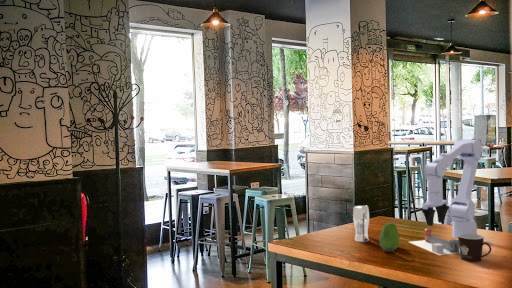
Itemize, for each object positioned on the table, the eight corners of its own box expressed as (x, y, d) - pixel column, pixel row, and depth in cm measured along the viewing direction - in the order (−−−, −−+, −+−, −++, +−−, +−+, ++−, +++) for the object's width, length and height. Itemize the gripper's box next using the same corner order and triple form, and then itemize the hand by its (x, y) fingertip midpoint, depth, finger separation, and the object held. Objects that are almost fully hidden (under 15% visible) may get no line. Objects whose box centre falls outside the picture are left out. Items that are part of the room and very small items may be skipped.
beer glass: (369, 242, 213) (369, 208, 213) (353, 242, 215) (352, 208, 214) (369, 238, 220) (368, 205, 220) (353, 238, 222) (353, 205, 221)
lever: (461, 251, 187) (461, 238, 187) (453, 252, 187) (453, 239, 186) (430, 239, 207) (429, 228, 207) (422, 240, 206) (422, 228, 206)
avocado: (400, 254, 193) (400, 224, 192) (380, 254, 194) (379, 224, 194) (398, 249, 201) (398, 220, 200) (378, 248, 202) (378, 220, 202)
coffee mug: (453, 260, 182) (453, 234, 182) (476, 259, 183) (475, 233, 183) (470, 269, 171) (469, 241, 170) (493, 268, 171) (493, 240, 171)
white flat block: (441, 241, 210) (441, 231, 210) (475, 255, 189) (475, 243, 189) (408, 245, 206) (407, 234, 206) (439, 259, 185) (439, 247, 185)
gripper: (436, 188, 209) (437, 220, 210) (415, 192, 200) (416, 225, 201) (451, 190, 203) (452, 222, 204) (430, 194, 195) (431, 228, 195)
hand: (435, 224), depth 202 cm, fingers open, 7 cm apart
